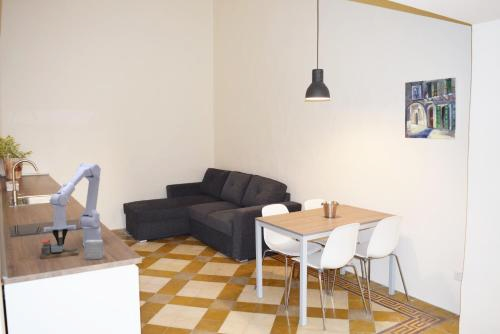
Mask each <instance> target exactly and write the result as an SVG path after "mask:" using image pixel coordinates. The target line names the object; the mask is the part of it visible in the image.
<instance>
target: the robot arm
mask: <svg viewBox="0 0 500 334" xmlns="http://www.w3.org/2000/svg"><path fill="white" fill-rule="evenodd" d="M101 169H102V168H101V167H100V166H99V164H97V163H80V165H78V167H77V169H76V173H75V174H74V175H73V176H72V178H71V179H70V180H69V181H68V182H66V183H63V184H62V187H61V188H60V189H59V190H58V191H56V193H54V194H53V195H51V196H50V200H49V204H50V206H51V208H52V217H53V225H52V226H44V227H43V232H44V233H46V232H51V234H53V236H54V238H55V240H56V244H57V245H59V232H60V231H61V235H62V236H61V237H62V238H63V240H62V244H63V246H64V245H65V241H66V238H67V237H66V236H67V234H68V231H69V230H77V224H67V216H66V215H67V213H66V211H67V210H66V205H67V204H68V202H69V198H70V196H71V195H72V194H73V193H74V192H75V190H76V186H77V185H78V184H79V183H80V182H81V181H82V180H83V179H84V178H85V179H86V180H87V181H88V185H87V194H86V200H85V201H86V203H85V209H84V210H83V211H82V212H81V214H80V217H79V220H78V224H79V225H80V226H81V228H82V239H83V240H82V246H83V247H84V242H85V241H87V240H103V239H102V231H101V228H102V227H101V226H100V223H101V219H100V213H99V212H98V211H97V204H98V197H99V189H100V188H99V187H100V180H101V177H100V176H101Z"/></svg>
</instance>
